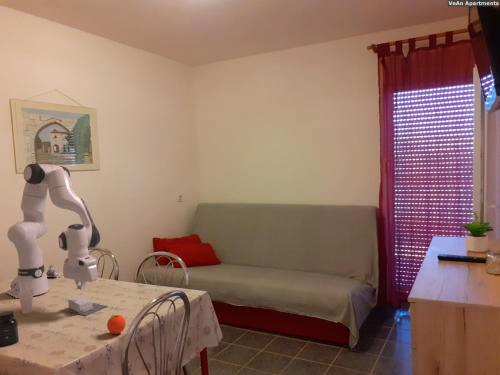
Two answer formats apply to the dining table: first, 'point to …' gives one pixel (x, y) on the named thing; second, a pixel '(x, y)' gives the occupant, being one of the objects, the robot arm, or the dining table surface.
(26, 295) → the smoothie
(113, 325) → the clementine
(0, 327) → the supplement bottle
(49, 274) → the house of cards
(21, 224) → the robot arm
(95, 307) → the mat
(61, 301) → the dining table surface
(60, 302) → the dining table surface
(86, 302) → the skincare box
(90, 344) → the dining table surface
